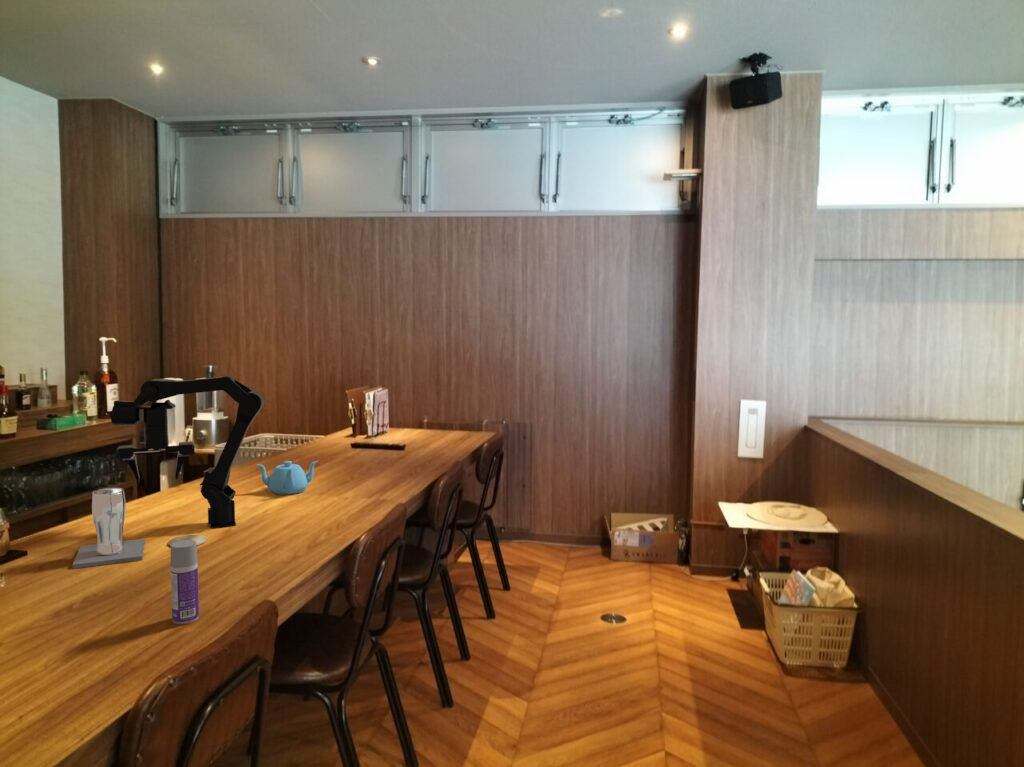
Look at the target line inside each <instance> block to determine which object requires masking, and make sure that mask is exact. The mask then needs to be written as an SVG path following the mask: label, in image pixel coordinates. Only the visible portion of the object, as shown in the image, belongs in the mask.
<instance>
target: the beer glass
mask: <svg viewBox="0 0 1024 767" xmlns="http://www.w3.org/2000/svg"><path fill="white" fill-rule="evenodd" d="M91 499H92V501H91V512H92V515H91V516H92V519H93V524H94V528H95V532H96V536H97V540H96V541H97V543H96V544H97V548H96V554H97V555H101V556H107V555H114V554H118V553H121V552H123V551H124V550H125V545H124V541H125V540H124V532H123V531H124V526H125V519H126V512H127V511H126V510H127V507H126V505H127V504H126V496H125V489H124V488H121V487H106V488H101V489H97V490H93V491H92V498H91Z"/></svg>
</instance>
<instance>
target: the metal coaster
mask: <svg viewBox="0 0 1024 767" xmlns="http://www.w3.org/2000/svg"><path fill="white" fill-rule="evenodd" d="M182 540H194V541H196V546H197V545H198V546H201V545H203V543H204V544H205V543H207V541H208V538H207V536H206V535H202V534H188V535H187V534H186V535H181V536H177V537H174V538H171V539H169V541H168V546H169V545H170V546H171V544H172V543H174V542H177V541H182ZM170 546H169V547H170ZM198 546H197V547H198Z"/></svg>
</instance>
